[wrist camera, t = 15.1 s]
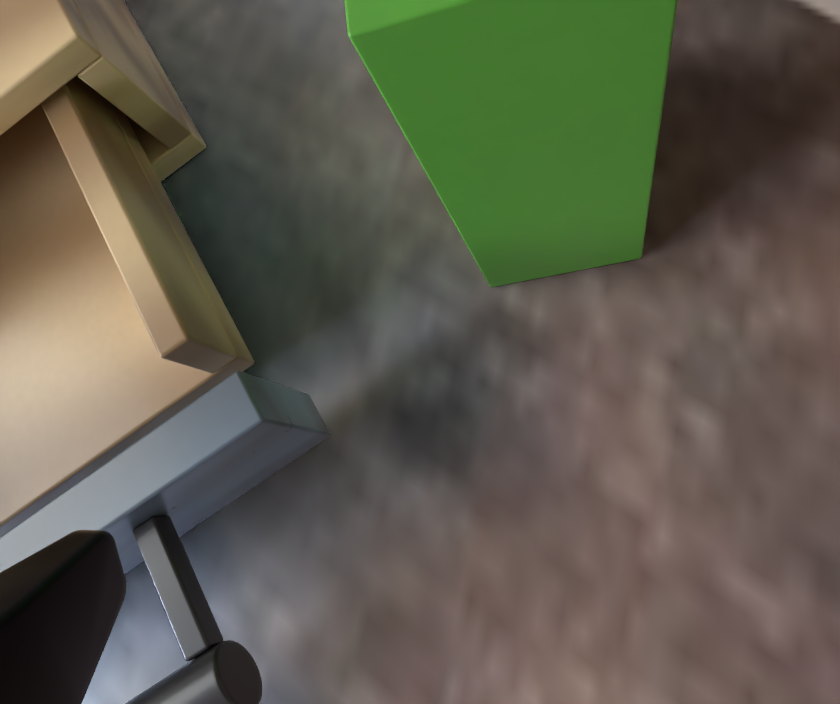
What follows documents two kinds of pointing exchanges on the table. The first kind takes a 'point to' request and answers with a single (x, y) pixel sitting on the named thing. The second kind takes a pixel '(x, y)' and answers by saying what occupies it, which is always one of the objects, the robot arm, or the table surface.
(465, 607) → the table surface
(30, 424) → the drawer
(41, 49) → the cabinet
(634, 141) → the green block white ridge
